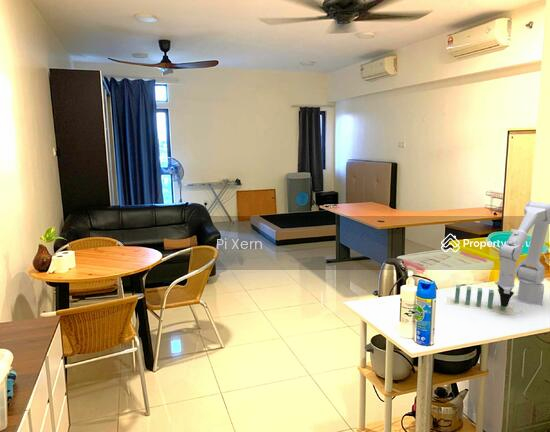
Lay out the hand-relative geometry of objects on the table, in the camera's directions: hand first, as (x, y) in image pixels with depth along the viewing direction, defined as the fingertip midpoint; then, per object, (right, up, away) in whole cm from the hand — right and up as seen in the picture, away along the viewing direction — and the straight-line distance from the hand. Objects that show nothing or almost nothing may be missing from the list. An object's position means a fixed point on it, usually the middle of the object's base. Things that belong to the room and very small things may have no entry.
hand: (503, 304), depth 174 cm
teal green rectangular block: (0, -2, 0) cm, 2 cm away
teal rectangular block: (-8, -1, +4) cm, 10 cm away
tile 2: (-4, -2, +2) cm, 5 cm away
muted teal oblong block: (-12, -1, +6) cm, 14 cm away
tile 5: (-16, -1, +8) cm, 18 cm away
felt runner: (-8, -2, +4) cm, 9 cm away
